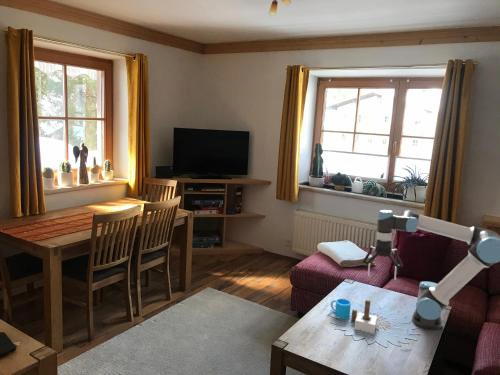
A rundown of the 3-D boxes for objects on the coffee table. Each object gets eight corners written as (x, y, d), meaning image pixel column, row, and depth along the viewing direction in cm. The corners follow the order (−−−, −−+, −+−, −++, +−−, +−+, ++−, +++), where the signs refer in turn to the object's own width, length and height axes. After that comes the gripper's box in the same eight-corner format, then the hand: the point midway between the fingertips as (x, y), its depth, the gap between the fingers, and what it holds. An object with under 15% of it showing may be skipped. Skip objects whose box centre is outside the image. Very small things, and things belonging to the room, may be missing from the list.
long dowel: (368, 326, 216) (370, 300, 213) (367, 328, 213) (370, 302, 211) (363, 325, 217) (365, 299, 214) (362, 327, 214) (365, 301, 212)
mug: (352, 315, 227) (353, 302, 226) (344, 320, 221) (346, 306, 220) (334, 308, 235) (335, 295, 234) (326, 312, 229) (327, 299, 228)
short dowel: (356, 320, 222) (357, 310, 221) (355, 322, 220) (356, 312, 218) (351, 318, 223) (352, 309, 222) (350, 321, 221) (351, 311, 220)
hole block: (376, 325, 217) (377, 316, 217) (374, 333, 208) (374, 324, 208) (357, 320, 221) (358, 312, 221) (354, 329, 212) (355, 320, 212)
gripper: (409, 239, 212) (406, 277, 215) (360, 235, 220) (358, 271, 224) (409, 243, 205) (406, 283, 208) (359, 238, 213) (357, 276, 217)
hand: (381, 277), depth 216 cm, fingers open, 13 cm apart
